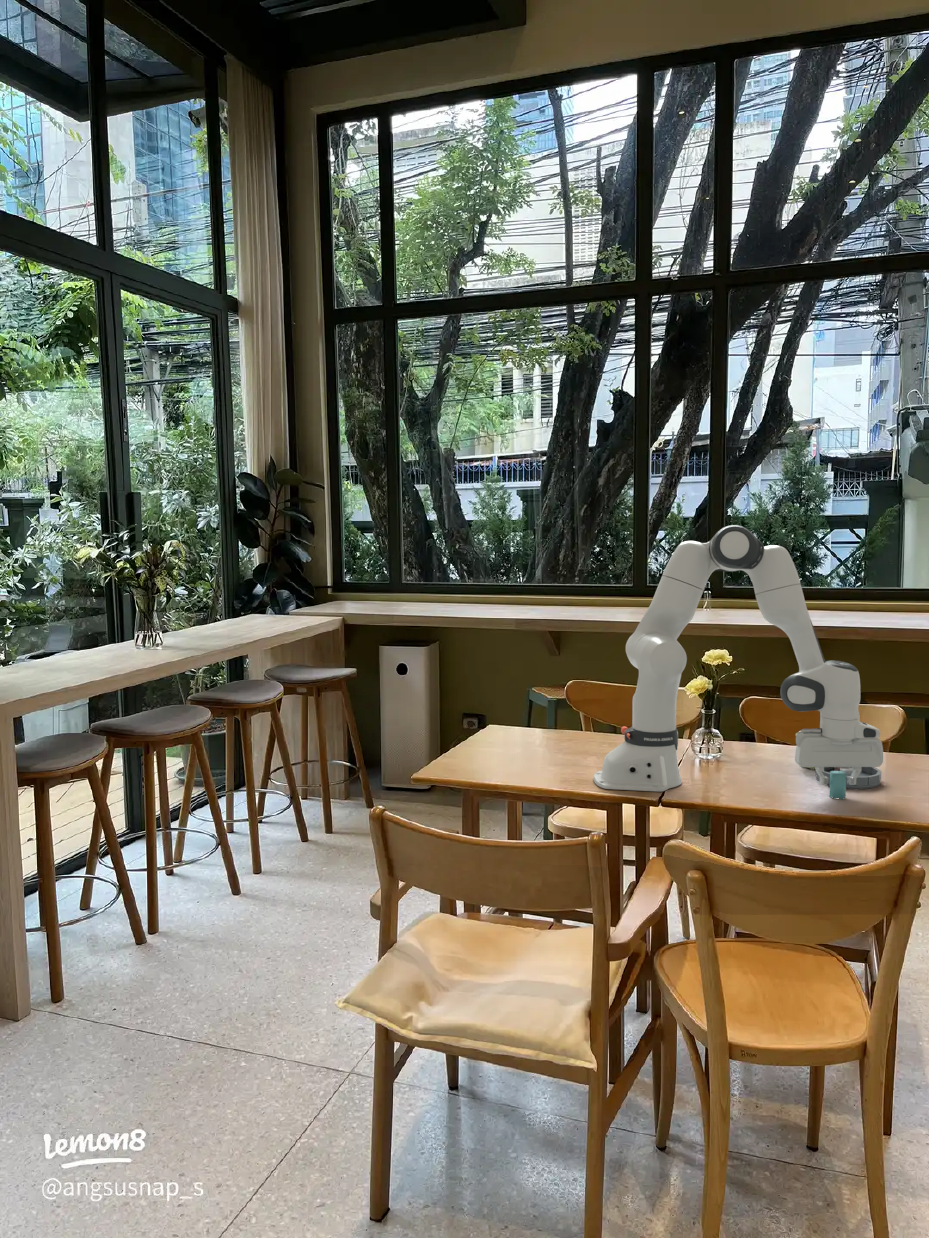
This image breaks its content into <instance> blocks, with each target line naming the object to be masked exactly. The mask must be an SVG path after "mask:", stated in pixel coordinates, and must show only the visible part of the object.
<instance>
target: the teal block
mask: <svg viewBox="0 0 929 1238" xmlns="http://www.w3.org/2000/svg"><path fill="white" fill-rule="evenodd" d="M846 791H847V788H846V773H845V772H842V771H831V772H830V785H829V798H831V797H833V798H832V799H834V798H839V799H838V800H844V799H843V798H845V799H846V796H847V795H846Z"/></svg>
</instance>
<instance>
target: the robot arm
mask: <svg viewBox="0 0 929 1238" xmlns="http://www.w3.org/2000/svg"><path fill="white" fill-rule="evenodd" d="M764 545H765V544H763V542H761V541H760V540H759V539H758V538H757V536H755V535H754V534H753V532H752V531H750V530H749V529H748V528H746V527H744V526H742V525H736V524H732V525H727V526H724V527H722V528H721V529H719V530H718V531H717V532H716V533H715V534H714V535H713V537H712V538H711V539H710V540H709V541H707V542H700V541H696V540H685V541H682V542H681V543H679V544H678V545H677V547H676V548H675V549H674V551H673V553H672V554H671V556H670V559H669V560H668V562H667V564H666V566H665V568H664V570H663V572H662V575H661V578H660V581H659V583H658V585H657V588H656V590H655V593H654V595H653V598H652V600H651V603H650V605H649V606H648V608H647V611H646V612H645V613H644V615H643V617H642V618H641V620H640V622H639V623H638V624H637V627H636V629H635V630H634V632H633V633H632V634H631V635H630V636H629V638H628V639H627V640H626V643H625V653H626V656H627V659H628V661H629V662H630V664H631V665H632V666H633V667H634V668H636V669H637V670H638V677H637V683H636V689H635V692H634V694H633V696H632V723H631V724H632V726H631V727H627V726H625V725H624V726H622V727H620V732H621V734H622V735H623V736H624V737H623V738H624V741H623V742H622V743H620V744H619V745H617V746H616V747H615V748H614V749H612V750H611V751H610V752H607V754H606V755H605V757H604V759H603V761H602V767H601V768H602V769H601V770H598V771H596V772H595V773H594V774H593V782H594V783H595V784H596V786H598V787H600V788H602V789H604V790H606V789H607V790H621V791H622V790H624V791H625V790H626V791H640V792H642V791H643V792H665V791H667V790H668V789H671V788H676V787H679V786H680V785H681V784H682V782H683V781H682V777H681V773H680V769H679V764H678V763H679V762H678V755H677V753H678V747H679V731H678V729H677V699H678V693H679V687H680V684H681V679H682V673H683V671H684V670H685V668H686V665H687V661H688V656H687V653H686V650H685V649H684V647H683V646H682V645H681V644H680V642H679V641H678V638H679V637H680V635H681V633H683V630H684V629H685V628H686V626H687V625H688V624H689V623H690V622H691V621H692V620H693V618H694V617H695V613H696V610H697V608H698V606H699V603H700V601H701V598H702V595H703V593H704V591H705V589H706V585H707V583H708V581H709V578H710V576H711V575H712V573H714V572H726V573H733V572H737V571H743V572H744V573H746V574H747V575H748V576H749V578H750V580H751V583H752V586H753V590H754V595H755V600H756V602H757V606H758V608H759V611H760V613H761V615H762V616H763V618H764V620H765V621H767V622H768V623H770V624H771V625H773V626H775V627H777V628H779V629H780V630H782V631H783V632H784V633H785V634H786V636H787V637H788V639H789V641H790V643H791V646H792V649H793V652H794V655H795V658H796V661H797V663H798V664H797V665H798V672H796V673H793V674H791V675H789V676H788V677H786V678H785V679H784V680H783V682H782V683H781V685H780V690H779V691H780V692H779V694H780V698H781V700H782V702H783V703H784V705H785V706H786V707H787V708H789V709H790V710H791V711H795V712H800V713H802V712H803V713H804V712H813V711H818V712H819V713H820V714H819V715H820V716H819V717H820V721H819V727H818V728H802V729H801V730H799V731H798V732H796V733H797V734H796V733H795V744H796V747H795V752H794V753H795V754H794V762H795V763H796V764H797V765H798V766H799V767H801V768H808V767H815V769H814V770H815V772H816V771H817V773H818V775H819V776H820V782H819V784H820V785H822V786H829V785H828V778H827V777H826V776H824V775H823V773H822V771H824V767H852V769H854V771H853V773H852V775H851V776H848V777H847V779H848V780H847V782H848V784H849V785H856V778H857V777H858V776H859V774H860V773H861V770H862V767H876V768H880V767H881V766H882V765H883V764H884V749H883V748H884V747H883V746H884V745H883V742H882V741H881V740H880V739H879V738H880V737H881V730H880V729H879V728H878V727H876V726H874V725H871V724H869V723H865V722H863V721H860V720H861V719H860V718H861V717H860V712H859V706H860V703H861V678H860V673H859V672H860V671H859V670H858V668H857V667H856V666H855V665H853V664H851V663H848V662H845V661H841V660H826V659H825V658H824V654H823V652H822V648H821V645H820V642H819V639H818V636H817V633H816V630H815V626H814V624H813V621H812V619H811V616H810V614H809V611H808V608H807V604H806V600H805V596H804V592H803V588H802V585H801V580H800V576H799V574H798V570H797V568H796V565H795V562H794V561H793V559H792V556H791V554H790V552H789V551H788V550H787V548H785V547H783V546H781V545H775V544H771V545H765V546H764ZM801 732H802V733H801Z"/></svg>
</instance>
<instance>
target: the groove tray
mask: <svg viewBox="0 0 929 1238" xmlns="http://www.w3.org/2000/svg"><path fill="white" fill-rule="evenodd" d="M831 771H834V767H824V771H822V773H823V775H824V776H826V777H827V778H828V785H827V786H830V772H831ZM840 771H842V772H845V773H846V789H849V790H867V789H873V788H874V789H875V788H877V787H879V786H881V780H882V770H880V769H878V767H862V770H861V773H860V774H859V776H858V777H857V778H856V785H849V784H848V782H847V780H848V779H847V777H848V776H851V775H852V773H853V771H854V769H852V767H842V768H840ZM815 776H816V780H817V781H818V782H819V783H820V776H819V775H818V773H817V771H816V770H815Z"/></svg>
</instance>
